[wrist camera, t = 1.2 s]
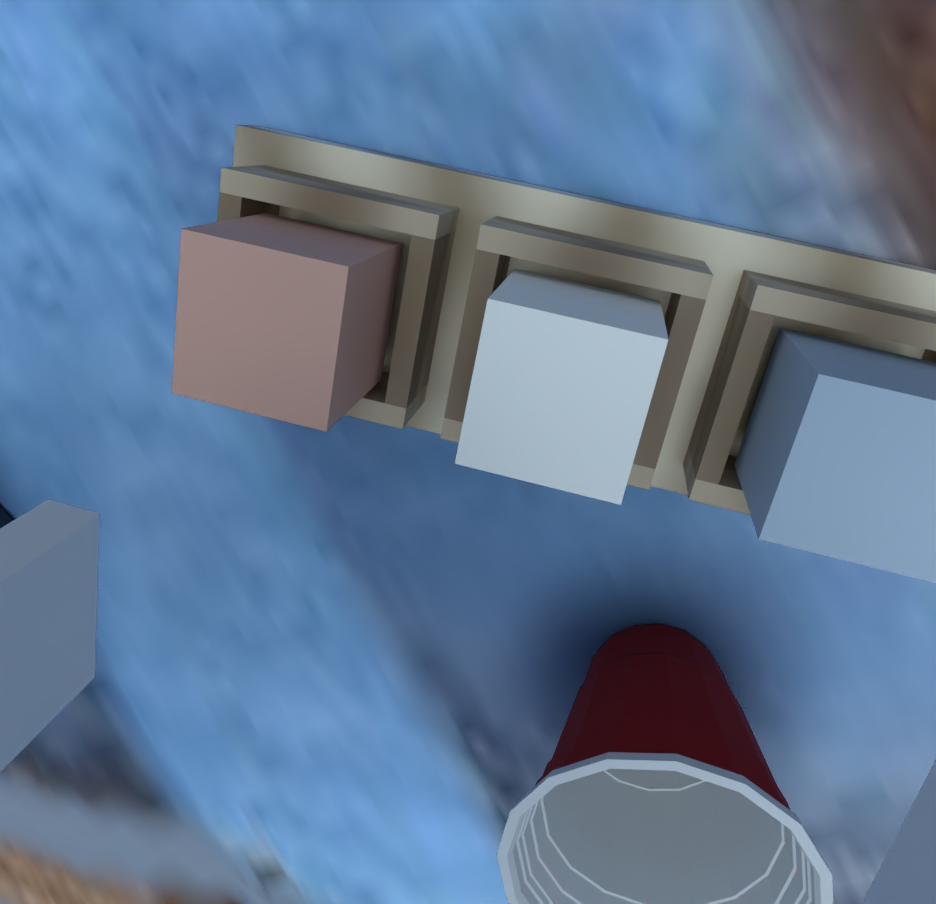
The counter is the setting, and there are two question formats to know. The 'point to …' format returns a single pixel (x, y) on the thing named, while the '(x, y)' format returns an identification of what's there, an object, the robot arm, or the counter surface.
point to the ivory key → (562, 384)
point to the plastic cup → (658, 793)
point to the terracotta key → (282, 317)
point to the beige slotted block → (589, 262)
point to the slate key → (844, 454)
